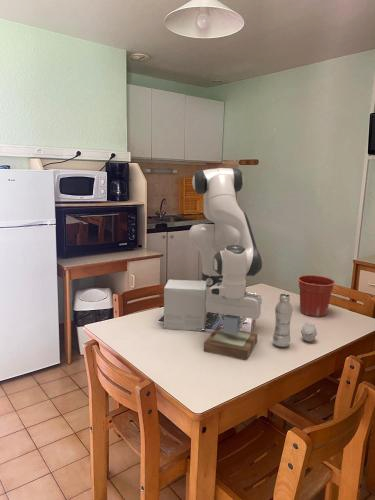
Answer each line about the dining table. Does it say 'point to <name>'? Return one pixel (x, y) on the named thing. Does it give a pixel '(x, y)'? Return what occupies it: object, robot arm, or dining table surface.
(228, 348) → the walnut stand
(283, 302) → the plastic bottle
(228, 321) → the slate block
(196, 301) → the supplement box
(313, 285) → the flower pot
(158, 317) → the dining table surface
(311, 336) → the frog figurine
